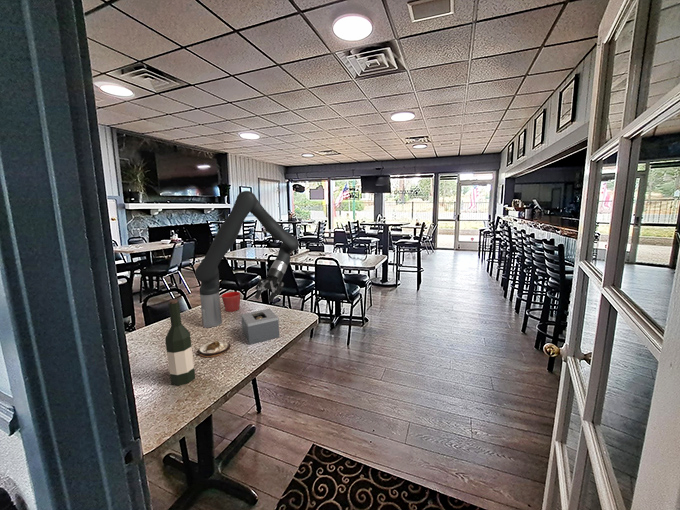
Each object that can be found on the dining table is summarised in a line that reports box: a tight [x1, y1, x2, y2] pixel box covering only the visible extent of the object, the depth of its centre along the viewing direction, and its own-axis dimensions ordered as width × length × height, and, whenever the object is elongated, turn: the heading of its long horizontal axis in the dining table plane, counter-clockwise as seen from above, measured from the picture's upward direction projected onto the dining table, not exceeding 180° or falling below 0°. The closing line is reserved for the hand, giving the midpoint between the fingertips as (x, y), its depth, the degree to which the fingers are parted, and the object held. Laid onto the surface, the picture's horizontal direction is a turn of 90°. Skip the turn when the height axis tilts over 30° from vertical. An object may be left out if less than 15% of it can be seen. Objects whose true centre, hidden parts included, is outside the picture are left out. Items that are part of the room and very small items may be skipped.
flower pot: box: [221, 291, 241, 313], centre depth 179 cm, size 11×11×10 cm
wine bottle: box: [164, 298, 196, 387], centre depth 107 cm, size 8×8×30 cm
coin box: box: [240, 308, 280, 346], centre depth 143 cm, size 14×14×10 cm
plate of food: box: [198, 339, 231, 359], centre depth 130 cm, size 15×15×4 cm
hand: (263, 299), depth 144 cm, fingers open, 8 cm apart
